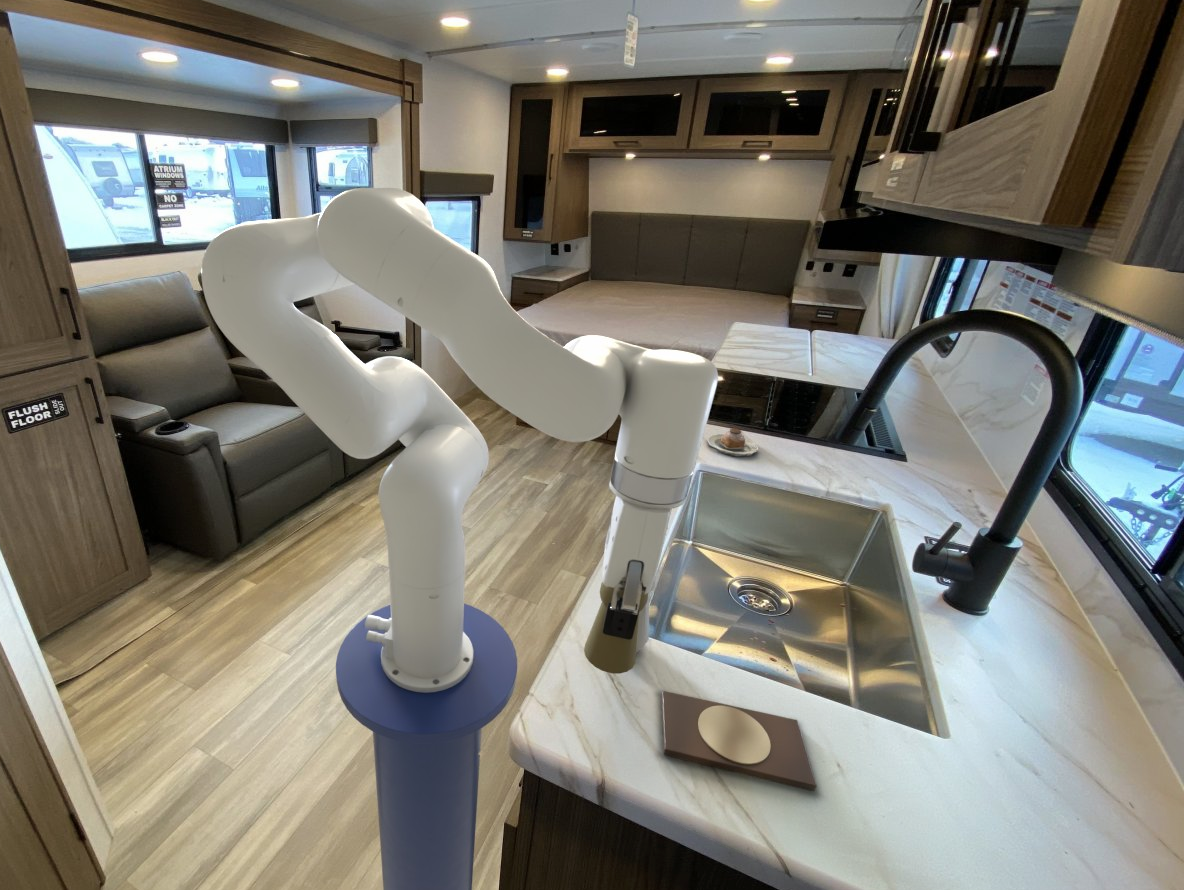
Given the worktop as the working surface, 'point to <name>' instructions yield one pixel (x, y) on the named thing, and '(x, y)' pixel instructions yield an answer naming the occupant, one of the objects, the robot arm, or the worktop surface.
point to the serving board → (735, 740)
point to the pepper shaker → (611, 639)
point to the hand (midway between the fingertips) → (618, 616)
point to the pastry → (733, 443)
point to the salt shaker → (644, 624)
